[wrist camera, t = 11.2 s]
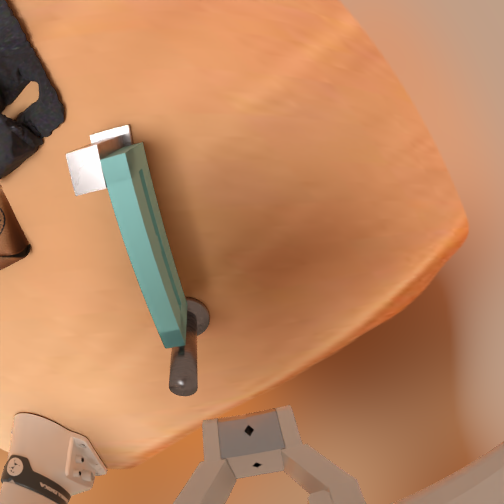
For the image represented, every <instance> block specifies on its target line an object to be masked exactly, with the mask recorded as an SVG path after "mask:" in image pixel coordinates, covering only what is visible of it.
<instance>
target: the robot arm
mask: <svg viewBox="0 0 504 504" xmlns="http://www.w3.org/2000/svg"><path fill="white" fill-rule="evenodd" d="M202 429H203V446H204V462H200V463H199V465H198V466H197V468H196V469H195V471H194V473H193V474H192V476H191V477H190V479H189V480H188V482H187V483H186V485H185V487H184V488H183V489H182V491H181V492H180V494H179V496H178V497H177V498H176V500H175V501H174V503H173V504H225V503H226V501H227V499H228V497H229V495H230V493H231V491H232V489H233V487H234V485H235V482H236V479H238V478H244V477H249V476H255V475H260V474H267V473H273V472H278V471H285V472H286V473H287V474H288V475H289V476H290V477H291V478H292V479H293V480H294V481H295V482H297V483H298V484H299V485H300V486H301V487H302V488H303V489H305V490H306V491H307V492H308V493H309V494H310V495H309V497H308V504H366V502H365V500H364V497H363V495H362V492H361V489H360V487H359V484H358V481H357V479H355V478H354V477H353V476H351V475H350V474H348V473H347V472H345V471H344V470H342V469H341V468H339V467H338V466H336V465H335V464H334V463H332V462H331V461H330V460H328V459H327V458H326V457H324V456H323V455H321V454H320V453H319V452H317V451H316V450H315V449H313V448H312V447H311V446H309V445H308V444H302V441H301V438H300V434H299V431H298V428H297V424H296V421H295V417H294V414H293V411H292V408H291V406H290V405H288V406H283V407H279V408H276V409H275V408H273V409H269V410H264V411H259V412H254V413H249V414H245V415H239V416H233V417H226V418H219V419H218V418H217V419H210V420H203V424H202ZM11 433H12V438H11V443H10V449H9V455H8V461H7V463H6V465H5V466H4V470H3V473H2V478H1V482H2V487H1V492H0V504H67V503H68V502H69V500H70V498H71V496H72V495H75V494H78V493H81V492H84V491H88V490H90V489H91V488H92V486H93V483H94V478H95V476H99V475H104V474H106V473H107V469H106V467H105V466H104V464H103V462H102V461H101V459H100V458H99V456H98V455H97V453H96V452H95V450H94V448H93V447H92V445H91V444H90V442H89V440H88V439H87V438H86V437H84V436H82V435H80V434H77V433H74V432H71V431H69V430H67V429H65V428H63V427H62V426H60V425H58V424H56V423H54V422H52V421H50V420H48V419H45V418H43V417H40V416H37V415H33V414H28V413H19V414H17V415H15V416H14V421H13V428H12V432H11ZM391 504H504V441H503V442H502V443H500V444H499V445H498V446H496V447H495V448H493V449H492V450H490V451H489V452H487V453H486V454H484V455H483V456H481V457H480V458H478V459H477V460H475V461H473V462H472V463H470V464H469V465H467V466H465V467H464V468H462V469H460V470H458V471H457V472H455V473H453V474H451V475H450V476H448V477H446V478H444V479H442V480H440V481H438V482H437V483H435V484H433V485H431V486H429V487H427V488H425V489H423V490H421V491H418V492H416V493H414V494H412V495H410V496H407V497H405V498H403V499H401V500H399V501H396V502H394V503H391Z"/></svg>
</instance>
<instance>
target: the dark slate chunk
mask: <svg viewBox="0 0 504 504" xmlns="http://www.w3.org/2000/svg"><path fill="white" fill-rule="evenodd" d="M30 81H35V82H37V83H38V84H39V99H38V100H37V101H36V102H35V103H33V104H31V105H30V106H29V107H28V108H27V109H26V110H25V111H24V112H22V113H20V114H19V115H18V117H17V120H16V121H15V120H12V119H11V118H7V117H6V116H5V115H2V114H1V113H2V111H3V110H4V108H5V106H6V105H9V104H11V103H12V102H13V101H14V100H15V99H16V98H17V97H18V95H19V94H20V93H21V92H22V90H23V89H24V88H25V86H26V85H28V84H29V82H30ZM63 121H64V107H63V105H62V104H61V103H60V101H59V100H58V96H57V93H56V91H55V89H54V88H53V87H52V86H51V84H50V81H49V79H48V78H47V76H46V73H45V71H44V69H43V68H42V65H41V63H40V60H39V58H38V57H36V53H35V51H34V50H33V48H31V45H30V43H29V42H28V41H27V39H26V35H25V33H23V31H22V29H21V27H20V24H19V22H18V20H17V19H16V18H15V16H13V12H12V10H11V9H10V7H8V4H7V2H6V1H5V0H0V179H1V178H2V177H4V176H6V175H8V174H9V173H11V172H12V171H13V170H14V169H16V168H17V167H19V166H20V165H21V164H22V163H23V162H24V161H25V160H26V159H27V158H29V157H30V156H31V155H32V154H34V153H35V152H36V151H37V149H38V146H39V145H42V144H43V140H42V138H43V137H48V136H49V135H51V134H52V130H54V129H56V128H57V127H58V125H59V124H61V123H63ZM40 134H41V135H40ZM38 136H40V138H39V137H38Z"/></svg>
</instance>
